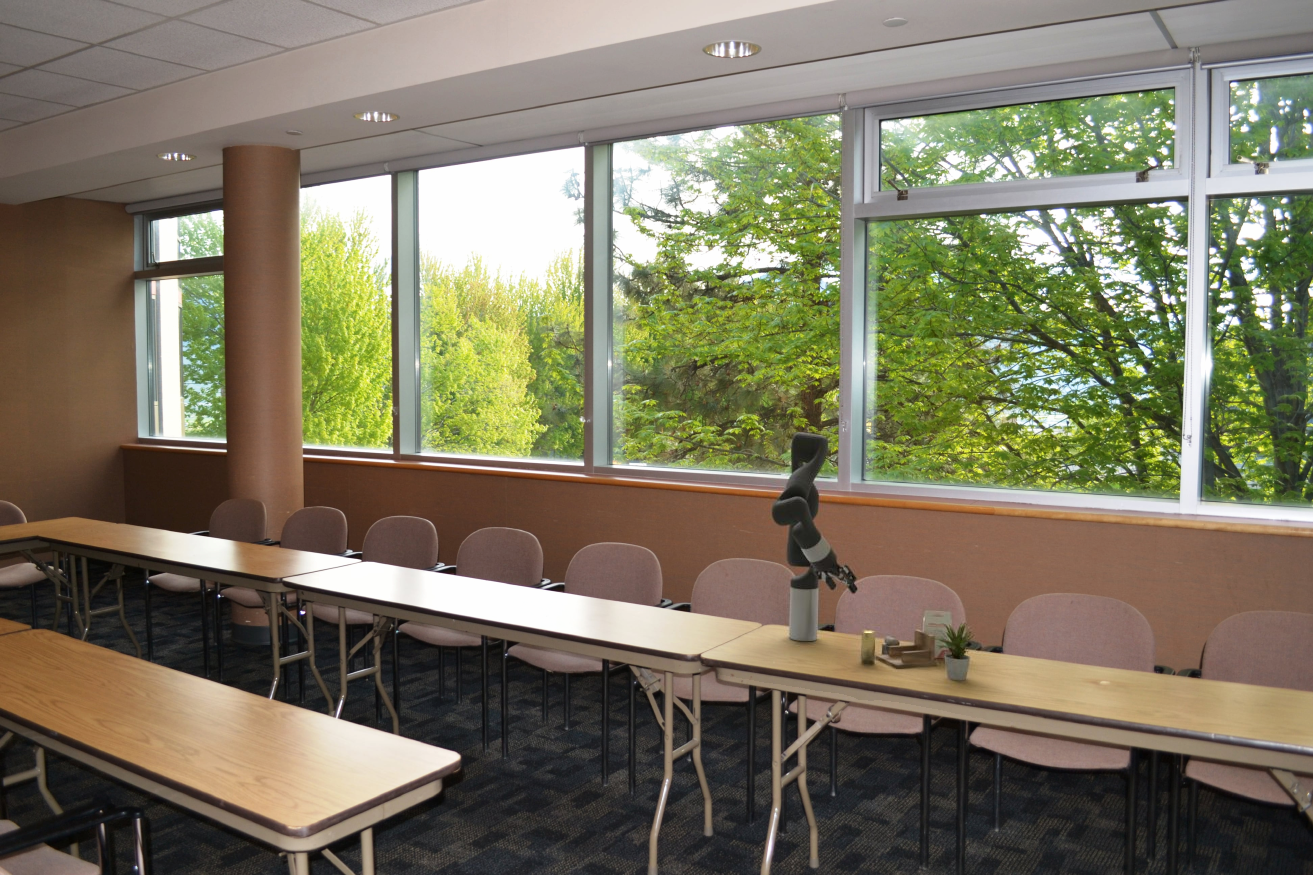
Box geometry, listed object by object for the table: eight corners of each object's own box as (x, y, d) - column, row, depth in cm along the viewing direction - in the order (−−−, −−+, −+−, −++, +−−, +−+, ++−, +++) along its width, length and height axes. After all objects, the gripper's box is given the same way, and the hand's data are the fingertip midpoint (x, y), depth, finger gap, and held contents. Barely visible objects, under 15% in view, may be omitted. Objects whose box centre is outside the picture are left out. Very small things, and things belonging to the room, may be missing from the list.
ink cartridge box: (950, 655, 305) (951, 608, 304) (951, 659, 300) (952, 612, 300) (922, 653, 307) (923, 607, 306) (922, 657, 302) (923, 610, 302)
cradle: (867, 654, 304) (868, 627, 304) (906, 651, 309) (907, 625, 309) (896, 668, 289) (897, 640, 288) (937, 665, 293) (937, 637, 293)
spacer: (858, 661, 296) (859, 630, 296) (870, 660, 297) (870, 629, 297) (865, 664, 292) (866, 633, 292) (877, 664, 294) (877, 632, 293)
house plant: (936, 667, 291) (938, 613, 290) (984, 673, 284) (986, 618, 284) (925, 678, 278) (926, 622, 278) (975, 686, 272) (977, 628, 271)
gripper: (843, 544, 278) (869, 583, 284) (807, 540, 290) (833, 577, 296) (829, 563, 275) (855, 602, 281) (794, 558, 287) (820, 595, 293)
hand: (844, 589), depth 289 cm, fingers open, 8 cm apart
